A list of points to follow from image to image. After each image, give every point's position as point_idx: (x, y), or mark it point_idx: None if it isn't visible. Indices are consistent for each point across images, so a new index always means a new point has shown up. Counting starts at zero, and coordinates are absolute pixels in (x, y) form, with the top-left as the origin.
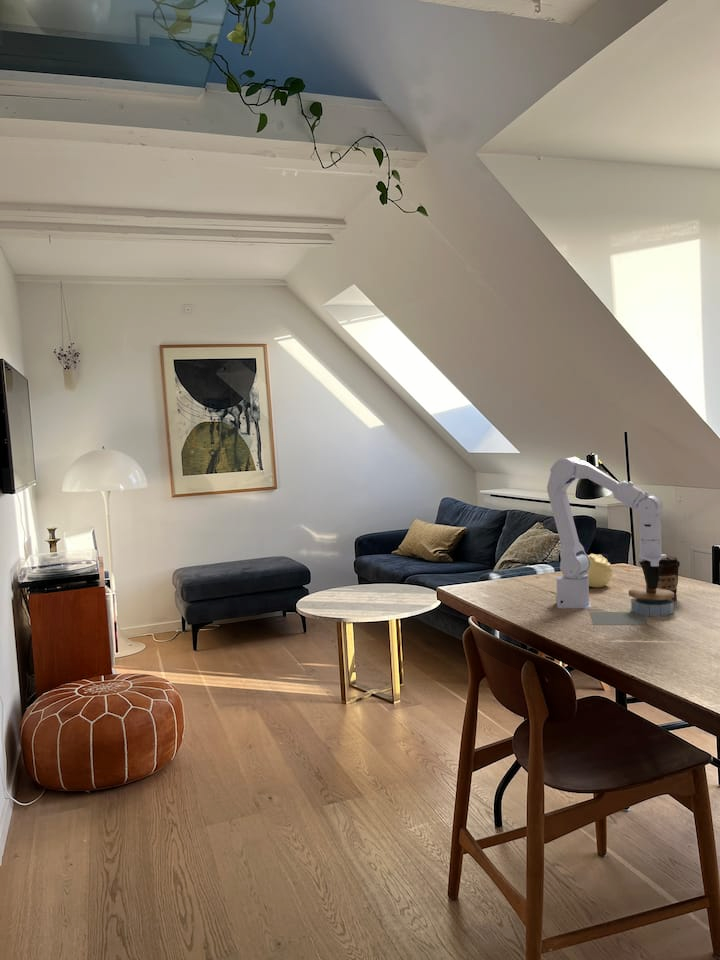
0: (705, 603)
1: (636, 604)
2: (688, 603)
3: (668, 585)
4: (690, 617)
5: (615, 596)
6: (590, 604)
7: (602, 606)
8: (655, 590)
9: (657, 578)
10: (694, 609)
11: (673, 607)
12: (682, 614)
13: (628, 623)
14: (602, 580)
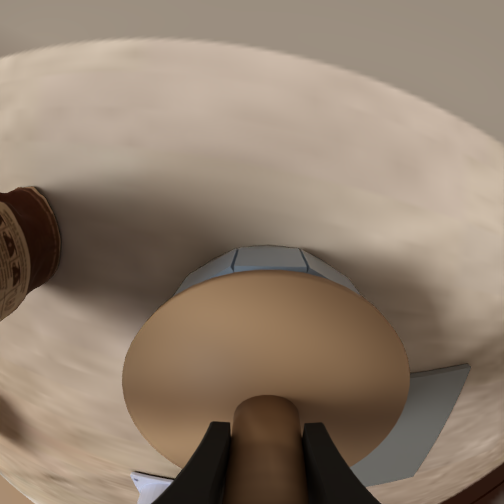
0: (66, 66)
1: None
2: (60, 137)
3: (6, 253)
4: (362, 174)
5: (24, 385)
6: (171, 482)
7: (164, 458)
8: (289, 412)
9: (355, 484)
10: (177, 116)
11: (310, 260)
12: (296, 200)
13: (435, 419)
14: None
